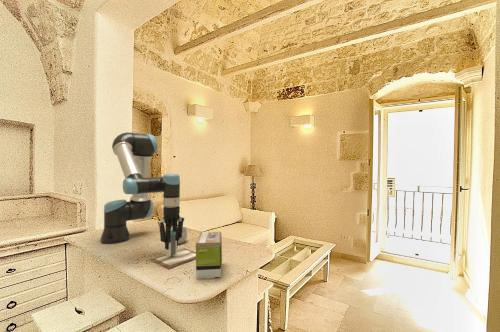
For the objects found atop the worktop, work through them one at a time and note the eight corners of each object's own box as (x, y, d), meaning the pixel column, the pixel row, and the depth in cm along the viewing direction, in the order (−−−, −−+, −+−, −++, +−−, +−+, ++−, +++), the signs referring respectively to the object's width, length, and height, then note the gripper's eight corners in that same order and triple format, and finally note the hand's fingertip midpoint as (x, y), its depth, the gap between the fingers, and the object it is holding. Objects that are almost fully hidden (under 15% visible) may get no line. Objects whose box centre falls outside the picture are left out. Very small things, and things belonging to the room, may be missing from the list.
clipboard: (149, 259, 113) (149, 257, 113) (183, 248, 128) (183, 246, 128) (168, 269, 103) (168, 266, 103) (203, 256, 118) (203, 253, 118)
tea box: (200, 263, 109) (200, 231, 109) (222, 263, 110) (222, 231, 110) (195, 279, 94) (195, 242, 94) (221, 278, 95) (221, 241, 95)
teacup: (181, 246, 132) (181, 231, 132) (163, 245, 134) (163, 230, 134) (192, 238, 146) (192, 225, 146) (176, 237, 148) (176, 224, 148)
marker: (167, 256, 115) (167, 232, 115) (172, 255, 117) (172, 230, 117) (170, 258, 113) (170, 233, 113) (175, 256, 115) (175, 231, 115)
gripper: (161, 209, 106) (160, 261, 107) (189, 204, 119) (189, 251, 119) (152, 207, 111) (152, 257, 111) (180, 203, 123) (180, 248, 124)
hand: (171, 254), depth 115 cm, fingers closed on marker, 3 cm apart
